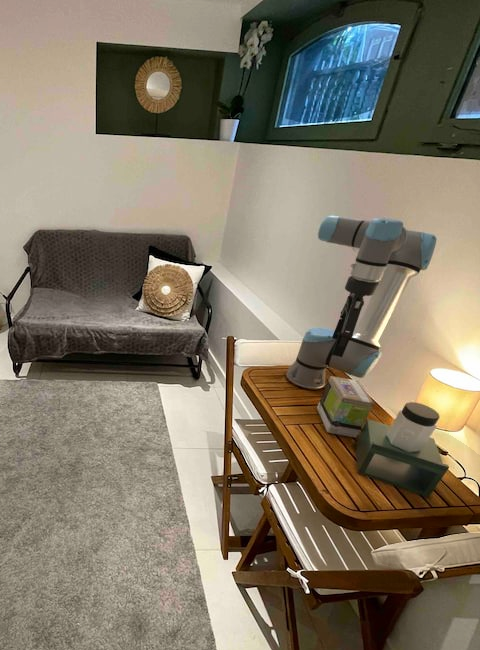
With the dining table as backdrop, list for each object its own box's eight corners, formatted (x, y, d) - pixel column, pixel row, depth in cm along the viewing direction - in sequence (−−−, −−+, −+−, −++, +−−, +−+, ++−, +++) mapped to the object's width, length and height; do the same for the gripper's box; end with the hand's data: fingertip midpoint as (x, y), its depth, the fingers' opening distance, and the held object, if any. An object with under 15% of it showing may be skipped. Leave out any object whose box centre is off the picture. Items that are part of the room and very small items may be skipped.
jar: (382, 440, 111) (400, 407, 105) (390, 429, 116) (408, 397, 110) (417, 457, 106) (438, 423, 100) (424, 445, 111) (444, 412, 105)
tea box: (357, 438, 128) (375, 403, 120) (326, 433, 129) (342, 397, 122) (343, 413, 140) (359, 379, 133) (315, 408, 142) (329, 374, 134)
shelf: (355, 442, 125) (369, 414, 120) (418, 463, 119) (436, 434, 113) (357, 473, 113) (373, 443, 107) (428, 497, 106) (449, 467, 101)
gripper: (348, 266, 115) (324, 330, 126) (350, 286, 96) (322, 359, 106) (375, 271, 113) (349, 335, 123) (384, 292, 93) (351, 367, 103)
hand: (336, 346), depth 115 cm, fingers open, 13 cm apart
